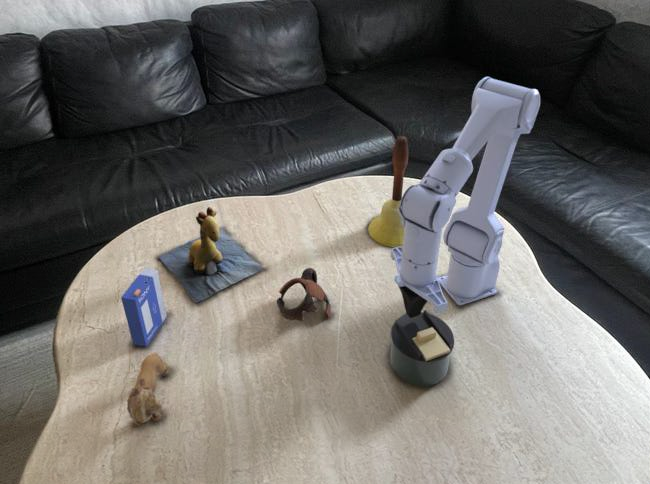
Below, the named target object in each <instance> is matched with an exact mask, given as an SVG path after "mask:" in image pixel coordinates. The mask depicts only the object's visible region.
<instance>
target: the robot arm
mask: <svg viewBox="0 0 650 484" xmlns="http://www.w3.org/2000/svg"><path fill="white" fill-rule="evenodd" d="M540 107H541V94H540V92H539V90H538V89H536V88H529V87H525V86H522V85H517V84H514V83H510V82H507V81H503V80H500V79H499V80H498V79H496V78H492V77H490V76H485V77H483V78H482V79H481V80H479V81H478V82H477V84H476V86H475V87H474V90H473V93H472V98H471V109H470V110H471V114H470V116H469V118H468V120H467V121H466V123H465V125H464V127H463V128H462V130H461V132H460V134H459V135H458V138H457V139H456V140H455V142H454V144H453V146H452V147H451V148H445V149H443V150H441V152H440V153H439V154H438V156H437V157H436V159H435V160H434V161H433V163H432V164H431V166H430V167H429V169H428V170H427V171H426V173H425V174H424V176H422V179H421V180H420V181H419V182H418V183H416V184H412V185H410V186H408V187H407V189H406V190H405V191H404V193H402V199H401V202H400V206H399V207H398V212H399V215H400V216H401V218H402V222H401V225H402V226H403V227H404V239H403V247H401V246H399V247H391V249H390V255H389V256H390V259H391V260H392V261H394V262H395V266H396V271H397V274H396V275H395V276H394V278H393V281H394V282H395V284H396V285H397V286H398V288H399V291H400V292H401V297H402V301H403V305H404V310H405V314H406V313H407V315H408V316H409V317H410V318H412V317H415V316H418V315H420V313H421V312H423V310H424V307H425V306H426V304H427V303H430V304H431V305H432V312H433V313H434V315H435V316H437V315H439V314H444V313H446V312H447V311H448V307H449V305H448V304H449V302H448V301H447V299H446V297H445V295H444V294H443V290H442V288H443V289H444V290H445V292H447V294H448V295H449V296H450V298H451V299H452V300H453V301H454V302H455V303H456V305H458V306H463V305H466V304H469V303H472V302H475V301H478V300H480V299H481V300H482V299H484V298H486V297H490V296H493V295H496V294H497V293H498V289H496V284H497V280H498V276H499V272H500V267H501V266H500V264H501V263H500V258H499V254H500V252H501V250H502V246H503V238H504V233H505V227H504V225H503V224H502V223H501V221H500V220H499V219H498V217H497V216H496V214H495V211H496V208H497V205H498V202H499V198H500V195H501V192H502V189H503V186H504V183H505V180H506V177H507V174H508V171H509V167H510V165H511V161H512V159H513V155H514V153H515V150H516V146H517V143H518V141H519V138H520V136H521V135H526V134H527V135H528V134H530V133H531V131H532V129H533V128H534V125H535V122H536V119H537V115H538V113H539V110H540ZM485 145H486V146H485ZM484 146H485V150H484V152H483V156H482V159H481V163H480V166H479V169H478V172H477V175H476V179H475V182H474V185H473V188H472V192H471V195H470V198H469V202H468V205H467V206H465V207H461V208H458V209H457V210H455V211H454V212H453V209H454V207H455V206H456V204H457V198H456V197H457V196H458V194H459V193H460V191H461V190H462V188H463V187H464V186H465V184H466V183H467V181H468V179H469V178H470V177H471V175H472V173H473V171H474V166H473V162H472V161H473V159H474V158H475V157H476V156H477V155H478V154H479V152H480V151H481V150H482V149H483V147H484ZM444 227H445V229H444ZM443 229H444V231H443ZM442 233H443V236H442ZM442 237H443V238H442ZM441 239H443V244H444V245H445V246H447V252H449V254H450V255H449V261H448V268H447V274H446V275H443V276H439V277H438V275H437V267H438V260H439V253H440V247H441V241H442V240H441Z"/></svg>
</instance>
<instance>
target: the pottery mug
mask: <svg viewBox="0 0 650 484" xmlns="http://www.w3.org/2000/svg"><path fill="white" fill-rule="evenodd" d="M296 284H300V285H301V286H302V287H303V289H304V291H305V297H304V298H303V300H302V301H301V302H300V304H298V305H297V306H296V307H293V308H286V307H285V306H286V304H285V300H284V296H285V294H286V293H287V292H288V290H289V289H290V288H291V287H293V286H295V285H296ZM279 294H280V297H278V298H277V299H276V306H277V308H278V311H279V314H280V316H281V317H282V318H283V319H284V320H286V321H291V322H293V321H299V322H301V323H304V322H305V319H304V313H307V314H309V313H316V312H317V311H318V310H319V309H318V307H317V306H316V303H315V301H314V299H316V300H317V301H319V302H325V309H324V314H325V316H326V318H327V319H330V318H331V315H332V307H331V303H330V300H329V299H328V297H327V294H326V292H325V291H324V289H323V288H322V287H321V285H320V284H318V274H317V271H316V270H315V269H314V268H312V267H308V268H305V269H304V270H302V272H301V276H300V277H295V278H292V279H290V280H288V281H287V282H286V283H284V284H283V285H282V286H281V288H280V289H279Z"/></svg>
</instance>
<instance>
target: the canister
mask: <svg viewBox="0 0 650 484" xmlns="http://www.w3.org/2000/svg"><path fill="white" fill-rule="evenodd" d="M432 327H433V329H434V330H436V332H437V333H438V334H439V336H440V337H441V338H442V340H443V341H444V342H445V344H446V345H447V346H448V347H449V349H450V353H447V354H444V355H441V356H439V357H436V358H433V359H431V360H428V361H425V359H424V358H423V356H422V354H421V352H420V351H419V349H418V348H417V346H416V345H415V344H414V342H413V341H412V338H415V337H417V332H420V331H423V330H426V329H429V328H432ZM390 340H391V345H390V346H391V347H390V353H389V354H390V355H389V360H390V361H389V362H390V365H391V368H392V370H393V372H394V373H395V374H396V375H397V377H399V378H400V379H401V380H402V381H404V382H406V383H408V384H410V385H412V386H416V387H430V386H434V385H436V384H438V383H440V382H441V381H442V380H444V378H445V377H446V376H447V373H448V371H449V369H448V368H449V364H450V358H451V355H452V353H453V350H454V348H455V347H454V346H455V336H454V333H453V331H452V329H451V327H450V326H449V325H448V324H447V323H446V322H445V321H444V320H442V319H441V318H440V317H438V316H437V315H435V314H431V313H429V311H428V310H427V309H423V310H422V311H421V313H420V315H418V316H415V317H412V318H410V317H409V316H408V315H407V313H406V312H405V313H404V314H402V315H400V316H399V317H398V318H396V319H395V320H394V322H393V324H392V325H391V328H390Z"/></svg>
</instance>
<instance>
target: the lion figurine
mask: <svg viewBox="0 0 650 484" xmlns="http://www.w3.org/2000/svg"><path fill="white" fill-rule="evenodd" d="M158 374H162V376H164V377H168V376H169V375H170V369H169V367H168V363H167V362H165V361H163V358H162V357H161V356H160V355H159V354H158V353H157V352H152V353H150V354H148V355H147V356H145V358H144V359H143V360H142V362H141V364H140V370H139V374H138V376H137V379H136V382H135V384H134V387H133V388H132V390H131V391H130V392H129V395H128V397H127V399H126V404H127V408H126V409H127V412H128V414H129V417H130V418H131V419H133V420H134V424H135V426H137V427H141V426H143V424H146V422H148V421H149V420H150V419H151V418H152V420H153V422H154V421H156V422H157V421H159V420H160V419H161V418H162V415H161V414H160V411H161V410H162V408H163V404H161V403H159V402H158V401H157V398H156V395H155V390H156V385H157V375H158Z"/></svg>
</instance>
